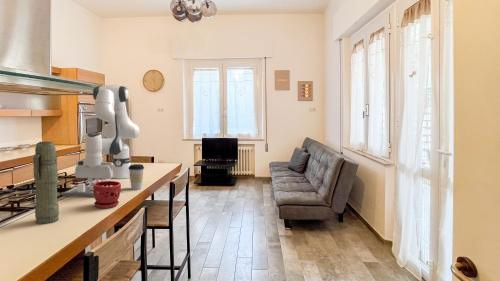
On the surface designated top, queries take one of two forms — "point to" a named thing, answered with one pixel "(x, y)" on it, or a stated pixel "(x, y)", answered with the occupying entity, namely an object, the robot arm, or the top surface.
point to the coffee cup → (136, 176)
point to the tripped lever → (81, 188)
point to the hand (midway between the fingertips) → (94, 185)
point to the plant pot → (106, 193)
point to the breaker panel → (79, 193)
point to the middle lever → (90, 186)
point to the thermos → (46, 183)
